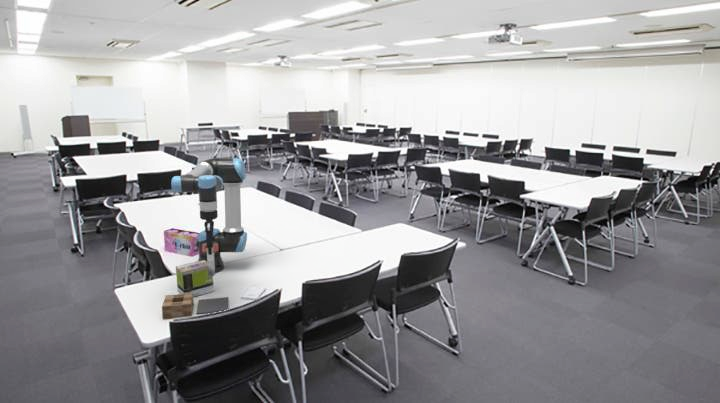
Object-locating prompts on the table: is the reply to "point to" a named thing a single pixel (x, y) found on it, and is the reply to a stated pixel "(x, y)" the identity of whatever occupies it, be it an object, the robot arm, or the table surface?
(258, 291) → the external hard drive
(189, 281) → the tea box
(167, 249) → the gum box
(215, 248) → the copper round-headed piece
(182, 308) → the eye block
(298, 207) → the table surface
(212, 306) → the rubber mat
